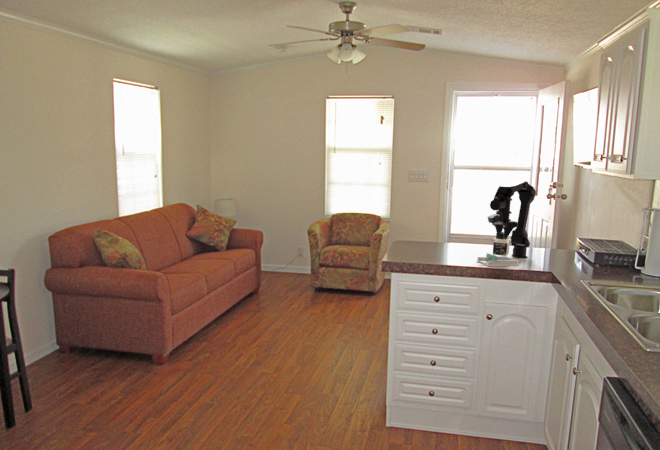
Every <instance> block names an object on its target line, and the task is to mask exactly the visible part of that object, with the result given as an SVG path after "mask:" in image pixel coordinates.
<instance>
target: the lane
mask: <svg viewBox="0 0 660 450" xmlns="http://www.w3.org/2000/svg"><path fill="white" fill-rule="evenodd" d="M496 256H497V261H488V260H486V259H478V258H480V257H481V256H477V260H476V261H477V262H478V263H480V264H482V265H485V266H487V267H507V266H509V267H510V265H511V266H519V260H518V259H514V258H512V257H509V256H508V255H507V256H501V255H496Z"/></svg>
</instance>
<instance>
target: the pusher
mask: <svg viewBox="0 0 660 450" xmlns="http://www.w3.org/2000/svg"><path fill="white" fill-rule="evenodd" d="M497 256H498V255H493V253H490V252H486V256H479V257H480V258H478V257H477V260H478V259H486V260H488V261H497Z"/></svg>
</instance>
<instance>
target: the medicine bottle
mask: <svg viewBox="0 0 660 450" xmlns="http://www.w3.org/2000/svg"><path fill="white" fill-rule="evenodd" d="M492 244H493V245H492V246H493V247H492V255H495V256H507V257H508V255H510V244H511V240H510V241H509V236H508V237H507V239H504V231H502V232H498V233H497V232H496V233H495V240H494V241H493V243H492Z"/></svg>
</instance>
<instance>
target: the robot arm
mask: <svg viewBox="0 0 660 450" xmlns="http://www.w3.org/2000/svg"><path fill="white" fill-rule="evenodd" d="M515 193H518V199H519V201H520V206H519V211H518V217H517V221H515V220H512V219H511V218H510V214H512V211H511V203H512V202H511V201H513V198H512V197H513V196H514V195H515ZM536 195H537V191H536V189H535V187H534V186H532V185H531V184H530V183H529V182H528V181H526V180H518V181H517V182H514V183H511V184H509V185H499V186H498V188H497V190H496V191H495V195H494V197H493V199H492V200H491V201H490V203H489V208H490V209H491V210H492V211H496V212H495V213H494V214H491V215H488V216H487V220H488V221H487V222H488V223H489V224H491V225H492V226H494V228H495V232H496V233H498V232H504V239H507V237H508V238H509V236H510V234H511V236H510V244H511V246H513V247H512V248H513V249H512V254H511V256H512V257H514V258H517V259H518V258H519V259H520V258H522V259H523V258H525V259H526V258H528V256H527V248H530V245H531V243H530V241H529V240H530V239H529V238H528V235H529V234H528V232H527V225H528V224H527V223H528V216H529V213H530V207H531V204H532V202H534V200H535V197H536Z"/></svg>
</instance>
